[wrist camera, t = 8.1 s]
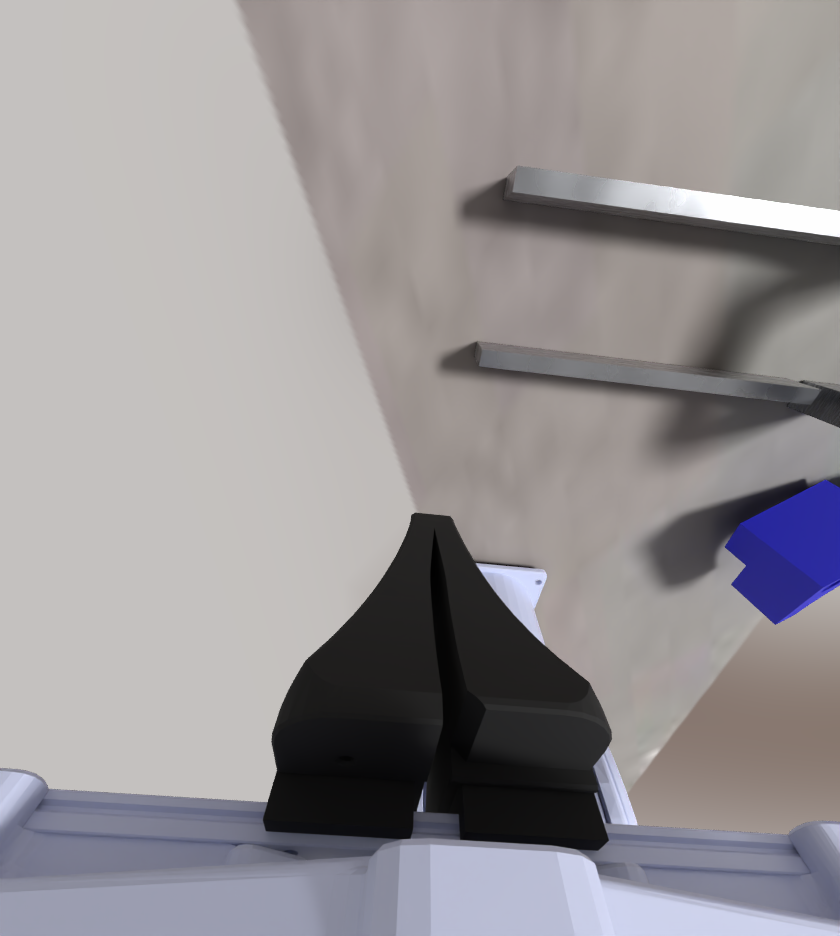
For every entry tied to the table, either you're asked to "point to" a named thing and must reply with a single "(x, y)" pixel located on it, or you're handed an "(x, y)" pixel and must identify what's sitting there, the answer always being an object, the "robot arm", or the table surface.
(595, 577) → the table surface
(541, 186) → the guide channel
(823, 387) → the bracket
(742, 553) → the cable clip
